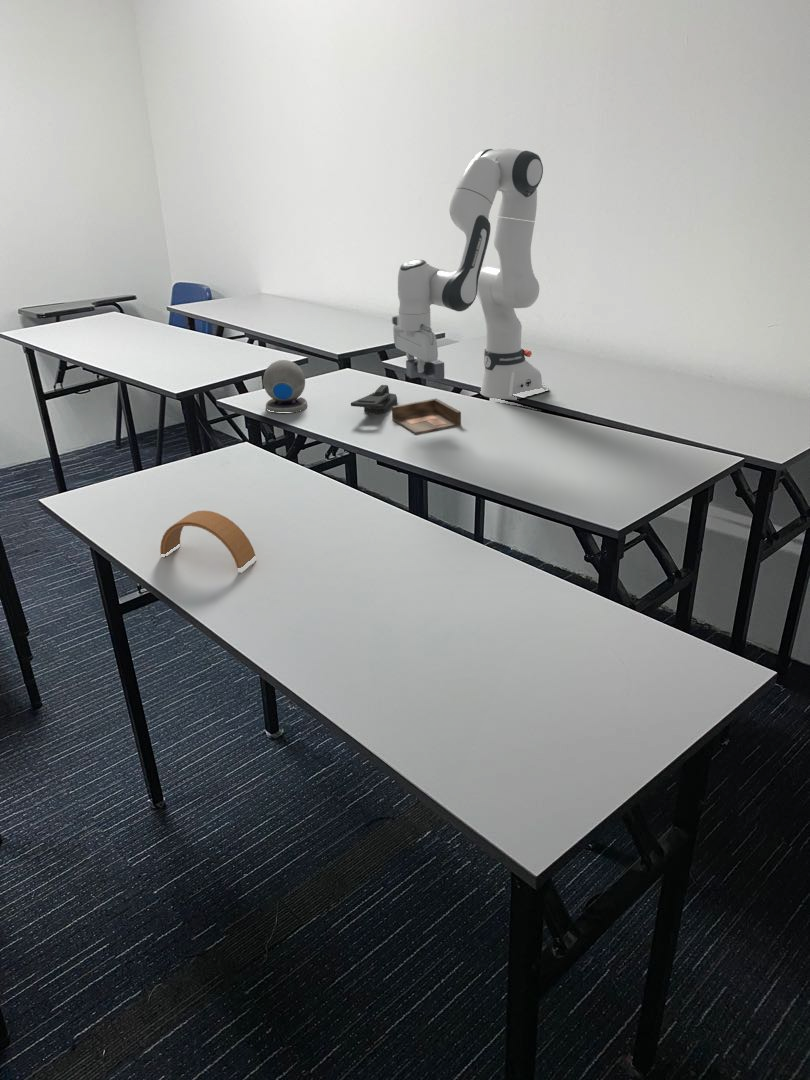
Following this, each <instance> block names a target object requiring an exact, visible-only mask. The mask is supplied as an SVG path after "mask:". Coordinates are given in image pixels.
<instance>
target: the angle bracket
mask: <svg viewBox="0 0 810 1080" xmlns="http://www.w3.org/2000/svg"><path fill="white" fill-rule="evenodd" d="M417 365H418V361H417V358H415V359H412V360H408V359H406V360H405V366H406V367H405V369H406V377H408V378H410V379H415V378H416V379H417V378H421V377H429V378H431V379H433V380H434V381H436V380H441V379H445V362H444V361H442V360H439V359H438V358H437V360H436V361H432V362H425V365H424V372H422V373H419V372H417V371H416V366H417Z"/></svg>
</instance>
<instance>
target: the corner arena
mask: <svg viewBox="0 0 810 1080" xmlns="http://www.w3.org/2000/svg"><path fill="white" fill-rule="evenodd" d="M391 413H392V416H391V419H392V421H394V422H395V423H397V424H399V425H400V426H401V427H403V428H404V429H406V430H408V431H409V432H410V433H412V434H413V435H420V434H425V433H429V432H435V431H439V430H446V429H450V428H455V427H460V426H462V412H461V411H460V410H458V409H457V408H455V407H453V406H451V405H449V404H448V403H446V402H443V401H442V400H440V399H438V398H430V399H425V400H420V401H415V402H409V403H404V404H403V403H402V404H398V405H394V406H392V408H391Z"/></svg>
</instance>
